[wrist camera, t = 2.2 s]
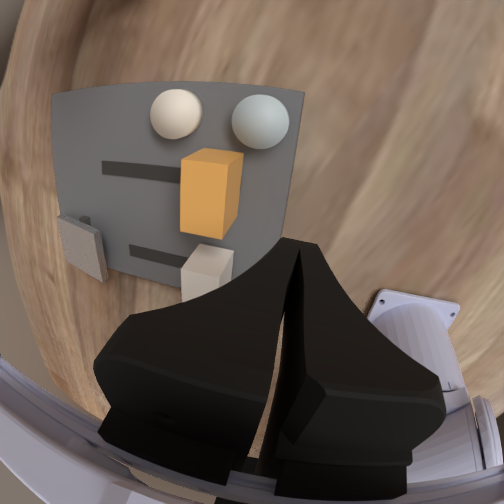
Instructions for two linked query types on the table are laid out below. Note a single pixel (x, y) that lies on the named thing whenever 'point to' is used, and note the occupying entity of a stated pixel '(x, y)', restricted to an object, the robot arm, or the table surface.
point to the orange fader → (210, 191)
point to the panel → (171, 166)
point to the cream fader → (205, 271)
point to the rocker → (83, 246)
